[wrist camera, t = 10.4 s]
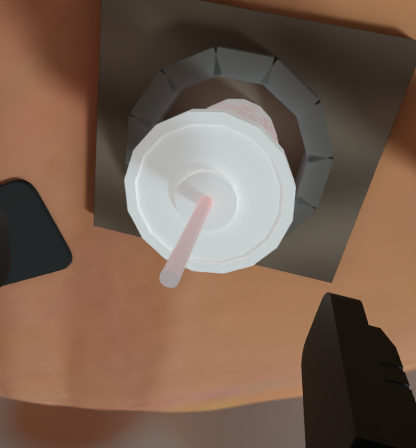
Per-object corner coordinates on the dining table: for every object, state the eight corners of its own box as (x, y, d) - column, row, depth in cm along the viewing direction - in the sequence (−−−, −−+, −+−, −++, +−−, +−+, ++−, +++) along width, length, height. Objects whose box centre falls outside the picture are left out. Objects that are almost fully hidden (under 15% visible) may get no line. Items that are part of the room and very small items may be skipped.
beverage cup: (220, 58, 20) (113, 87, 7) (314, 127, 20) (366, 263, 8) (163, 153, 22) (13, 292, 10) (247, 210, 23) (207, 409, 11)
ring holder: (111, -15, 20) (78, -26, 17) (417, 41, 19) (445, 41, 16) (101, 218, 26) (75, 242, 23) (329, 272, 25) (336, 307, 22)
